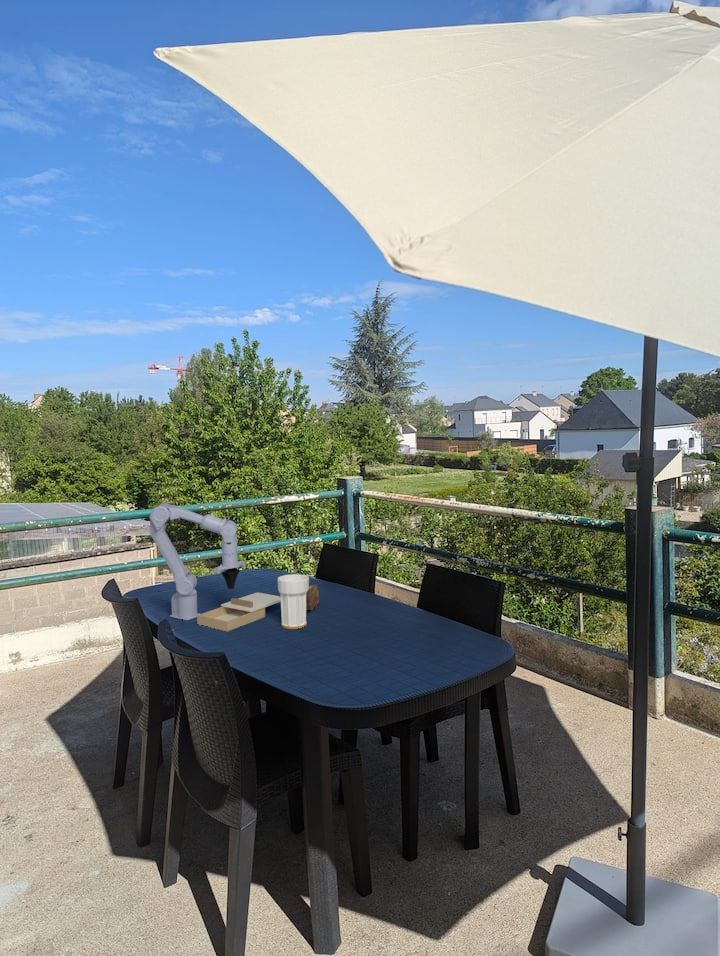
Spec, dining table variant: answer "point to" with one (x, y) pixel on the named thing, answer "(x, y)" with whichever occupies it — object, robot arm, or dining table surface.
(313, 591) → the tin
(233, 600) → the mailer lid
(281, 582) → the cup
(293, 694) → the dining table surface
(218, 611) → the box
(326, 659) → the dining table surface
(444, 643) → the dining table surface
